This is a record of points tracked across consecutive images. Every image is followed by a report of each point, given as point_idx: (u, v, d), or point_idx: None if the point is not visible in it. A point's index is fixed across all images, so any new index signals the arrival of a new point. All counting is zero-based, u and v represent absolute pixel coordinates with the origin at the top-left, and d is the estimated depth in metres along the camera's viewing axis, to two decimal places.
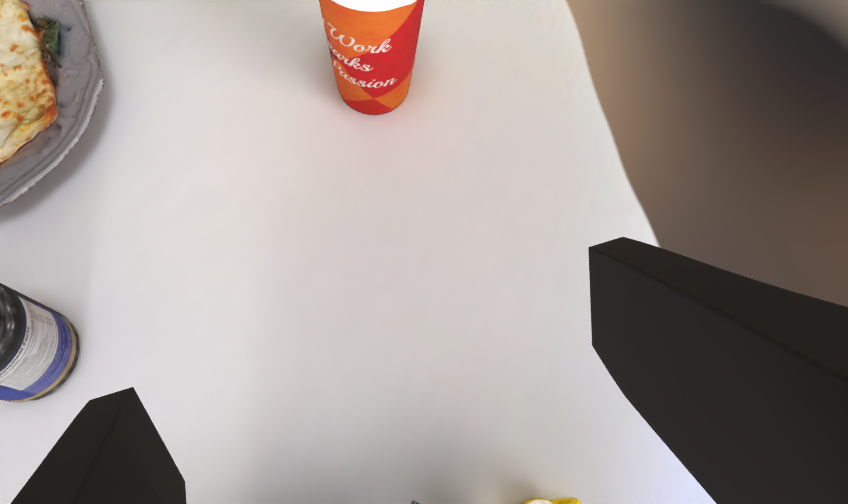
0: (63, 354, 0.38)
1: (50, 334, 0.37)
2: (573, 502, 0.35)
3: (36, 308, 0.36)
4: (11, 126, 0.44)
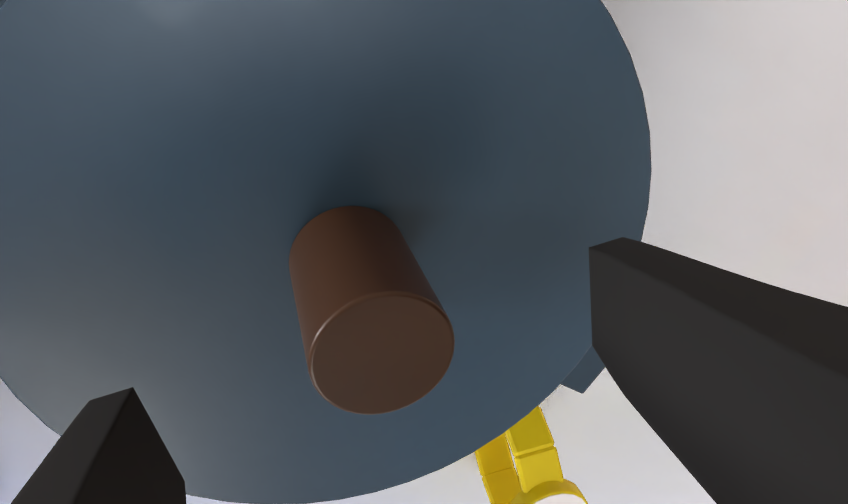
0: None
1: None
2: None
3: None
4: None
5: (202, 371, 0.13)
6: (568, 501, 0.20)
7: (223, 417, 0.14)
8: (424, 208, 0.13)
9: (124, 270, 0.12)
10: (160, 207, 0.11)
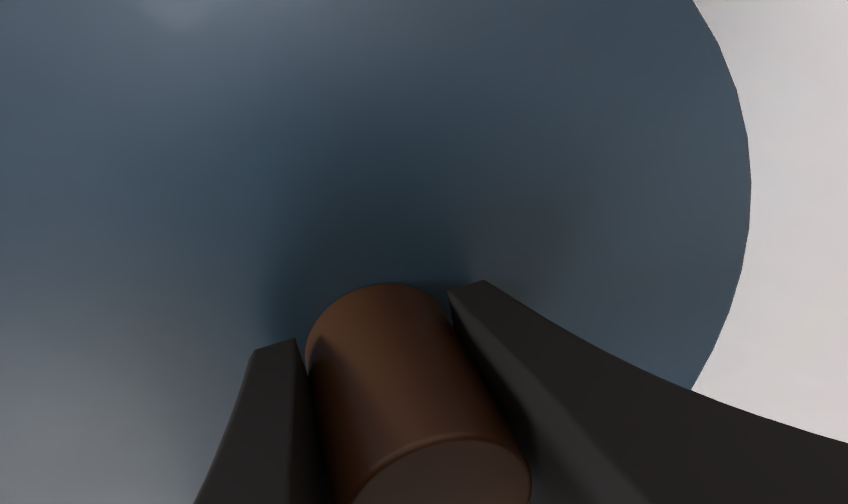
0: None
1: None
2: None
3: None
4: None
5: (196, 483, 0.10)
6: None
7: None
8: None
9: (94, 371, 0.09)
10: (140, 294, 0.09)
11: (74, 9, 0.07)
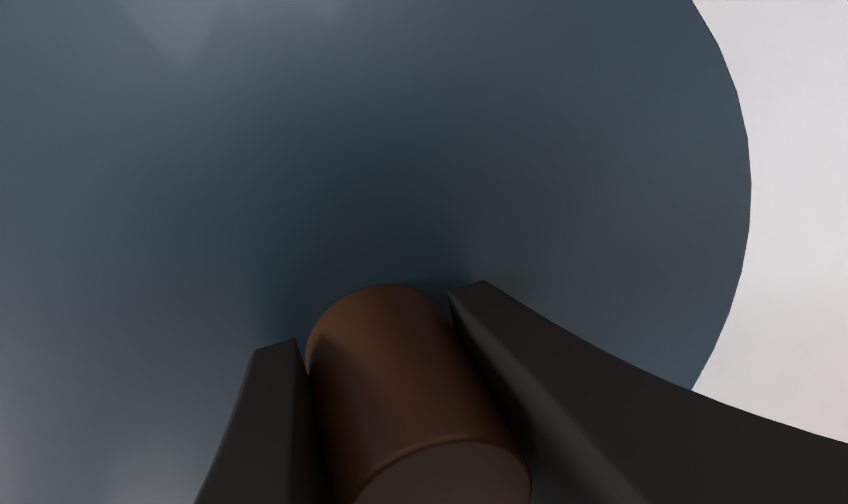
0: None
1: None
2: None
3: None
4: None
5: (196, 484, 0.10)
6: None
7: None
8: None
9: (95, 373, 0.09)
10: (140, 295, 0.09)
11: (74, 11, 0.07)
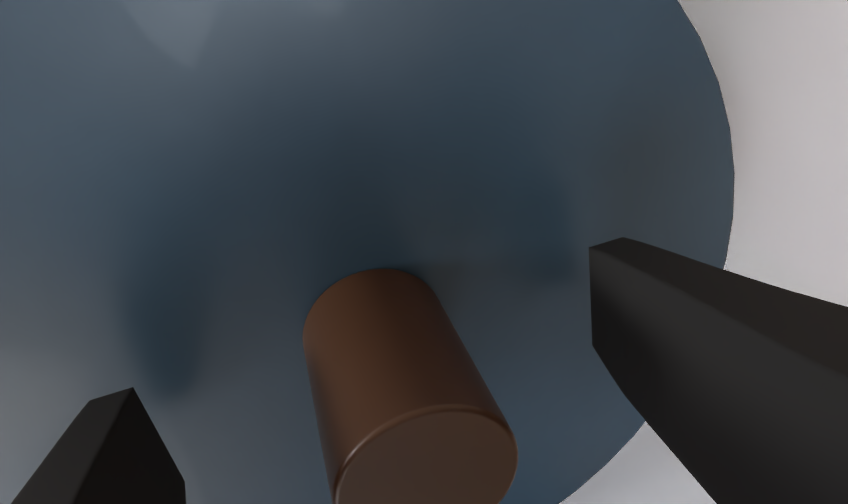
0: None
1: None
2: None
3: None
4: None
5: (197, 463, 0.11)
6: None
7: None
8: (466, 268, 0.10)
9: (100, 352, 0.09)
10: (144, 277, 0.09)
11: (82, 3, 0.07)
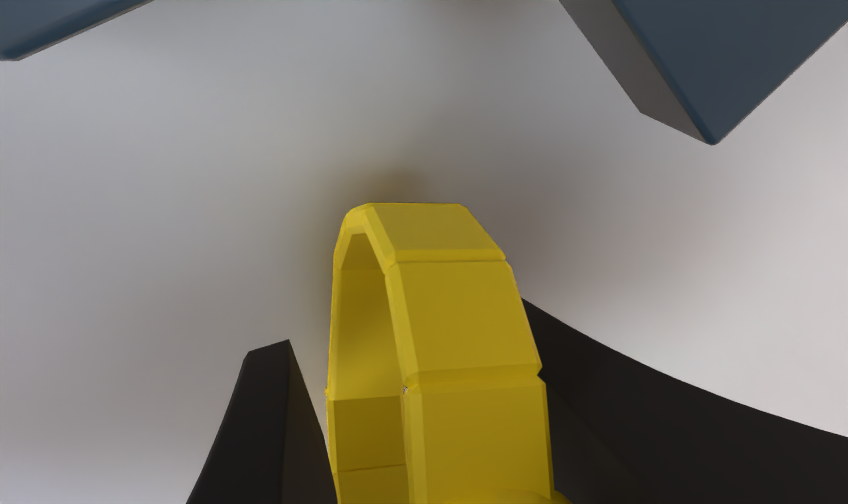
0: None
1: None
2: None
3: None
4: None
5: None
6: None
7: None
8: None
9: None
10: None
11: None
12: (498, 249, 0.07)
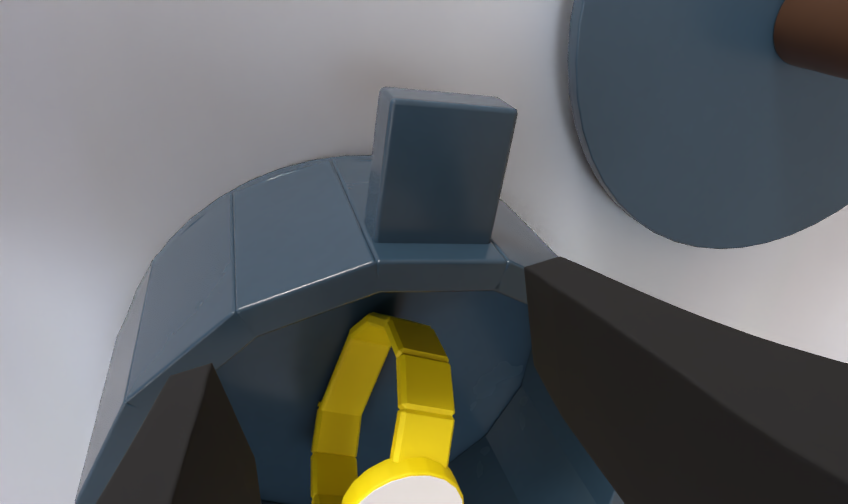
0: None
1: None
2: None
3: None
4: None
5: None
6: (445, 495, 0.14)
7: None
8: None
9: None
10: None
11: None
12: (446, 356, 0.15)
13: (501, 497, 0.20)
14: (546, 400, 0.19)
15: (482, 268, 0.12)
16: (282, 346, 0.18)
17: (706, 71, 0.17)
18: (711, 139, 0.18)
